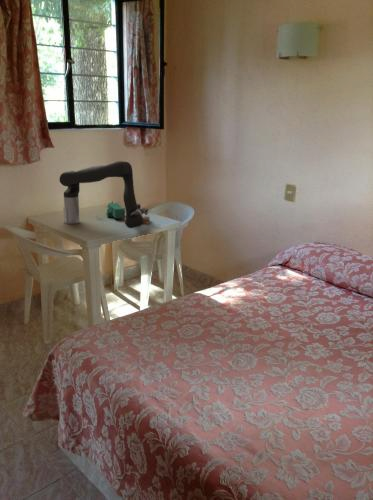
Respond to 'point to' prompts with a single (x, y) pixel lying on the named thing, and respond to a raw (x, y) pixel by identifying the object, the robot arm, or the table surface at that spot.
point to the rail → (146, 220)
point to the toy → (115, 210)
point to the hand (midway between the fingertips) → (137, 209)
